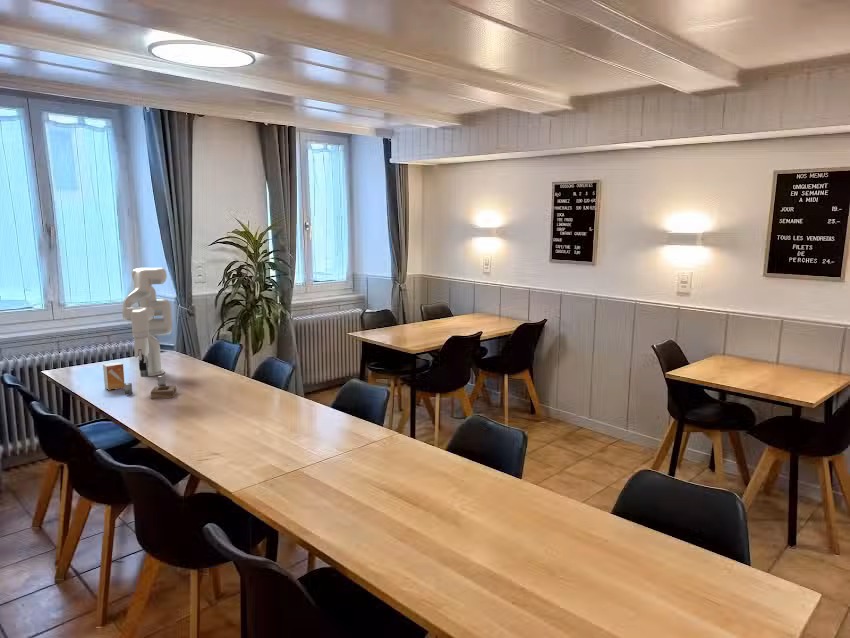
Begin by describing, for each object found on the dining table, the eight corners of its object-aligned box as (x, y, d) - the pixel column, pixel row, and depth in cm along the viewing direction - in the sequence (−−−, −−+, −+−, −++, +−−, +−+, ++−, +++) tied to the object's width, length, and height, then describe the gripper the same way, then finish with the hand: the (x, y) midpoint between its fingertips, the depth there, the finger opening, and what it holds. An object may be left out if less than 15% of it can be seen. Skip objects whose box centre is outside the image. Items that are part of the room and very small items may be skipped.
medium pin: (159, 390, 299) (158, 375, 297) (166, 390, 300) (165, 375, 298) (158, 392, 295) (156, 377, 294) (165, 392, 296) (164, 377, 295)
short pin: (125, 392, 295) (124, 383, 294) (133, 392, 296) (132, 382, 295) (123, 394, 292) (122, 385, 291) (131, 394, 292) (130, 384, 292)
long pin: (141, 374, 296) (139, 352, 294) (149, 374, 297) (147, 352, 295) (139, 377, 293) (138, 354, 290) (147, 376, 294) (145, 354, 291)
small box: (108, 391, 297) (106, 366, 295) (104, 388, 302) (102, 364, 299) (125, 388, 303) (123, 363, 300) (121, 385, 307) (119, 361, 305)
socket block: (155, 392, 295) (154, 386, 294) (176, 391, 297) (175, 385, 297) (151, 399, 285) (150, 392, 285) (172, 397, 288) (172, 390, 287)
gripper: (136, 330, 297) (139, 364, 301) (128, 338, 282) (132, 374, 286) (152, 329, 299) (155, 364, 303) (145, 337, 283) (148, 373, 287)
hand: (144, 368), depth 294 cm, fingers closed on long pin, 3 cm apart
